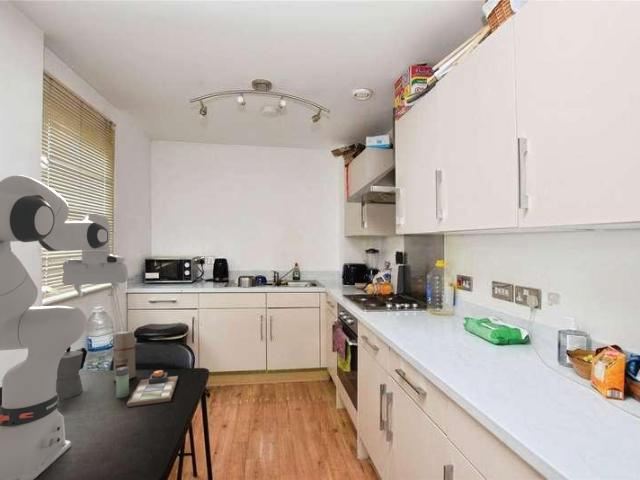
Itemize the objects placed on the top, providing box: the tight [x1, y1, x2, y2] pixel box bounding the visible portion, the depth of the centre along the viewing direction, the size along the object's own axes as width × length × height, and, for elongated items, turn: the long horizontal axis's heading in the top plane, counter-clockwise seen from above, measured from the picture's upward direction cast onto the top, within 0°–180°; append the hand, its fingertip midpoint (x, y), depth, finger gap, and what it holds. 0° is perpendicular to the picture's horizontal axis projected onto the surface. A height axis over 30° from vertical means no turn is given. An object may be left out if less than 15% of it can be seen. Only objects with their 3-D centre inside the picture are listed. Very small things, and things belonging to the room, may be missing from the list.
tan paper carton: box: [112, 330, 137, 382], centre depth 143 cm, size 8×8×20 cm
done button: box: [152, 369, 164, 378], centre depth 136 cm, size 4×4×2 cm
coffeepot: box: [56, 346, 88, 400], centre depth 129 cm, size 15×9×18 cm, turn 174°
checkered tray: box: [126, 372, 179, 407], centre depth 129 cm, size 22×14×3 cm, turn 17°
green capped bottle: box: [115, 367, 130, 399], centre depth 125 cm, size 4×4×10 cm
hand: (96, 296), depth 123 cm, fingers open, 8 cm apart
